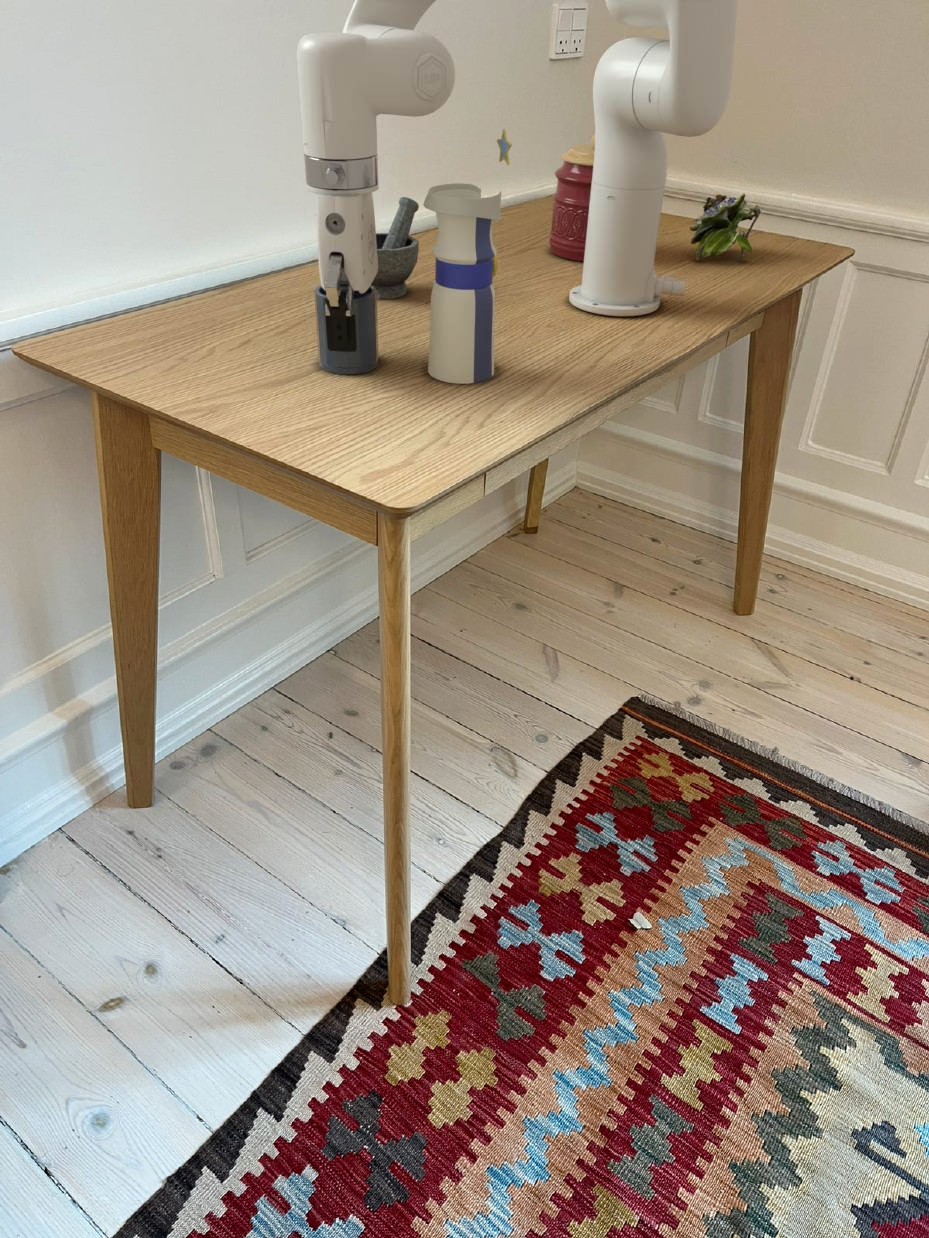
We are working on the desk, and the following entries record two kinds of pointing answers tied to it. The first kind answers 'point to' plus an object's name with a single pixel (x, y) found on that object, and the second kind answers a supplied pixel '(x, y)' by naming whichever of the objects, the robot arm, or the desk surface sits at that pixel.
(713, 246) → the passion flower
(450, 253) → the water bottle
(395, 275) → the mortar and pestle
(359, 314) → the blue cup
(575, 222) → the kitchen canister
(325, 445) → the desk surface
